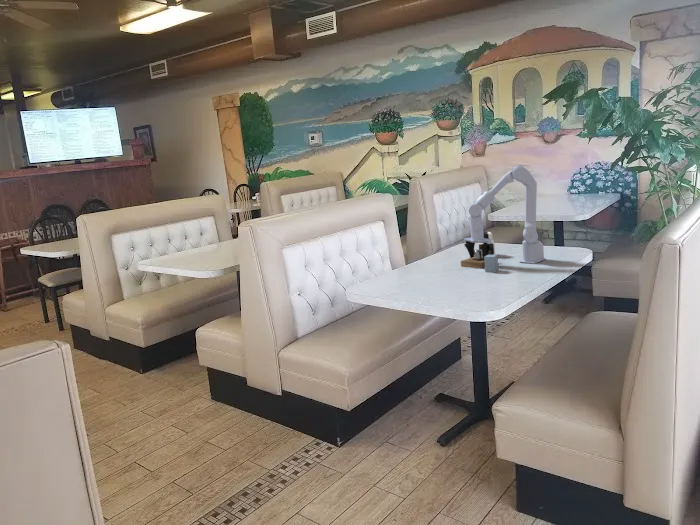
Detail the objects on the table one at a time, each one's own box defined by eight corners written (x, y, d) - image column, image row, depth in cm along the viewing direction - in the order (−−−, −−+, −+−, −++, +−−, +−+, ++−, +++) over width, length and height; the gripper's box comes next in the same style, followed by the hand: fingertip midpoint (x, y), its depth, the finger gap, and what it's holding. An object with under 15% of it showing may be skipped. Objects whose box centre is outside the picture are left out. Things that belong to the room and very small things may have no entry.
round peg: (478, 263, 267) (477, 249, 265) (484, 264, 264) (483, 249, 263) (473, 265, 265) (472, 250, 263) (479, 265, 262) (478, 251, 260)
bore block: (476, 260, 273) (476, 255, 272) (497, 262, 263) (497, 257, 263) (461, 266, 265) (460, 261, 265) (481, 268, 256) (481, 263, 256)
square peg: (489, 269, 253) (487, 254, 251) (498, 270, 250) (497, 254, 249) (485, 272, 249) (484, 256, 248) (494, 272, 246) (493, 256, 245)
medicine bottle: (479, 257, 279) (477, 234, 276) (480, 254, 285) (478, 231, 283) (494, 257, 276) (492, 233, 274) (495, 254, 283) (493, 230, 281)
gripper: (458, 230, 264) (461, 258, 267) (484, 231, 253) (486, 261, 256) (468, 227, 268) (470, 255, 271) (493, 228, 257) (495, 257, 260)
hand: (478, 258), depth 264 cm, fingers open, 7 cm apart
